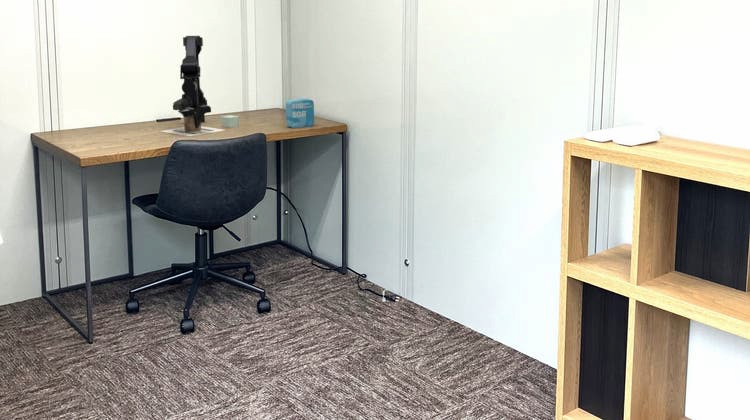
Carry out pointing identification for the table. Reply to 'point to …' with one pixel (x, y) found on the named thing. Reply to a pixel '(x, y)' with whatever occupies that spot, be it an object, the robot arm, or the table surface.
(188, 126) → the walnut block
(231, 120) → the sage cube
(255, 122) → the table surface
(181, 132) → the board
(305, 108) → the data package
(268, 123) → the table surface
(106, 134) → the table surface
